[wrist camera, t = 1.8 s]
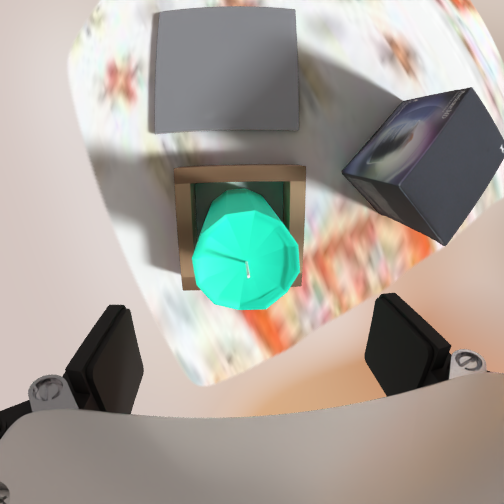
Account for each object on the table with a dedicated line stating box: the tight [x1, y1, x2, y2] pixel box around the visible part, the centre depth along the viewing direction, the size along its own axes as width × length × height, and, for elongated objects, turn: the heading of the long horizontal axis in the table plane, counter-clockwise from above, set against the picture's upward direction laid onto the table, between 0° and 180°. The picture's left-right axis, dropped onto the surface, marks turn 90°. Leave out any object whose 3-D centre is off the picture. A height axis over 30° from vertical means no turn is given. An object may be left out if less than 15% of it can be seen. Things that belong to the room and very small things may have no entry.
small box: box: [342, 87, 504, 246], centre depth 20 cm, size 11×6×10 cm, turn 140°
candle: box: [192, 188, 300, 310], centre depth 20 cm, size 6×6×12 cm
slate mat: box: [155, 6, 299, 134], centre depth 21 cm, size 12×12×1 cm
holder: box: [174, 164, 306, 290], centre depth 25 cm, size 10×10×3 cm
